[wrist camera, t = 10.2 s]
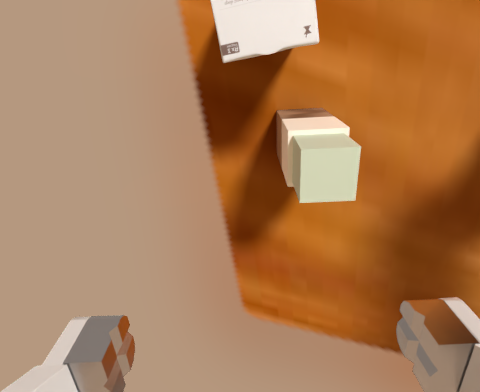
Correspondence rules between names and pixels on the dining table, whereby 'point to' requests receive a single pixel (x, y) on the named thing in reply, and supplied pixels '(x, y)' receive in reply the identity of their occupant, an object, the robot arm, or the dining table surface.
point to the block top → (305, 128)
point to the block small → (325, 167)
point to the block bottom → (295, 114)
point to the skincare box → (263, 26)
